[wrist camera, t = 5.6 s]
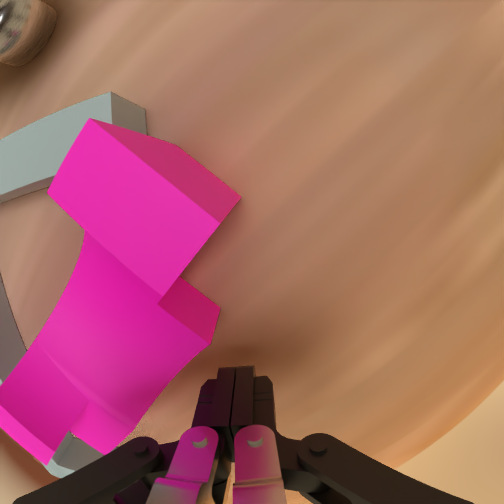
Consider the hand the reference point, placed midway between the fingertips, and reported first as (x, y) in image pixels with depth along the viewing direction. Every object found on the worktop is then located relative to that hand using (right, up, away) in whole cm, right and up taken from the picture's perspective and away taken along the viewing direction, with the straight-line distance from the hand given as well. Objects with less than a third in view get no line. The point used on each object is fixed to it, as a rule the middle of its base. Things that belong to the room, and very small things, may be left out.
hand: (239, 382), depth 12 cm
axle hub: (-13, +19, -2) cm, 23 cm away
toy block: (-5, +3, +3) cm, 6 cm away
